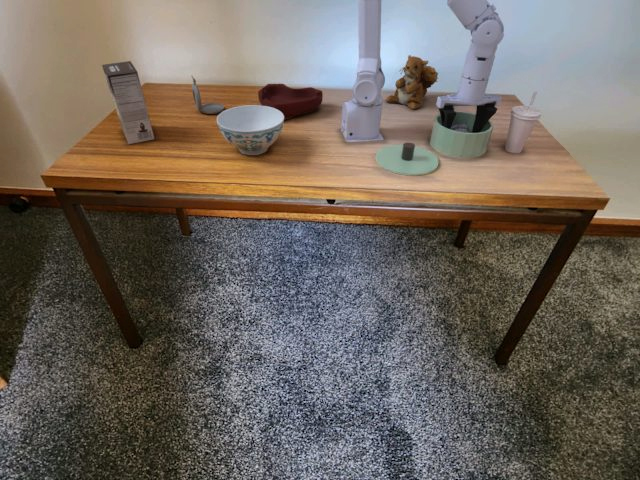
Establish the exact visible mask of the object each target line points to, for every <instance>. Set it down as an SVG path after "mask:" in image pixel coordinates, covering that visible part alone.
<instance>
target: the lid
mask: <svg viewBox="0 0 640 480" xmlns="http://www.w3.org/2000/svg"><path fill="white" fill-rule="evenodd" d="M375 161H376V163H377V165H379V166H380V167H381V168H382V169H384V170H385V171H388V172H390V173H393V174H395V175H396V174H397V175H402V176H409V177H410V176H411V177H415V176H416V177H417V176H424V175H428V174H430V173H433V172H435V171H436V170H437V169H438V167H439V162H440V161H439V158H438V156H436V154H434V153H433V152H432V151H430V150H428V149H426V148H424V147H420V146H417V145H416V144H414V143H412V142H404V143H403V144H391V145H386V146H384V147H381V148H379V149H378V151H377V152H376V154H375Z"/></svg>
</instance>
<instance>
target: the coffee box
mask: <svg viewBox="0 0 640 480" xmlns="http://www.w3.org/2000/svg"><path fill="white" fill-rule="evenodd" d="M101 67H102V70H103V74H104V76H105V79H106V83H107V87H108V90H109V93H110V96H111V100H112V102H113V106H114V108H115V111H116V115H117V118H118V120H119V124H120V127H121V129H122V132H123V134H124V137H125V139H126V142H127V144H128V145H134V144H138V143H144V142H147V141H152V140H155V139H156V138H155V134H154V131H153V126H152V123H151V119H150V116H149V112H148V108H147V104H146V99H145V96H144V92H143V88H142V83H141V79H140V76H139V72H138V70H137V69H136V67H135V66H134V64H133V63H132V61H131V60H128V61H122V62H121V61H120V62H113V63H106V64H101Z"/></svg>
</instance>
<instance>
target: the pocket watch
mask: <svg viewBox="0 0 640 480" xmlns="http://www.w3.org/2000/svg"><path fill="white" fill-rule="evenodd" d="M191 78H192V83H193V84H192V85H191V91H192V96H193V101H194V106H195V107H196V109H197V111H200V112H201V113H202V114H206V115H215V114H220V113H221V112H223V111H225V110H224V109H225V106H224V105H223V104H221V103H217V102H211V103H210V102H209V103H205V104H202V98H201V94H200V89H199V87H198V85H197V83H196V82H197V81H196V79H195V77H194V76H193V75H191Z"/></svg>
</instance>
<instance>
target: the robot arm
mask: <svg viewBox="0 0 640 480" xmlns="http://www.w3.org/2000/svg"><path fill="white" fill-rule="evenodd" d="M446 1H447V2H446V4H447V6H448V7H449V9H450V10H451V12H452V13H453V14H454V15H455V17H456V18H457V20H458V21H459V22H460V23H461V25H462V26H463V28H464V29H465V30H468V31H470V35H471V39H470V43H469V47H468V51H467V52H466V56H465V59H464V64H463V68H462V73H461V77H460V81H459V85H458V89H457V93H453V94H448V95H442V96H437V99H436V103H435V105H436V107H437V109H438V111H439V114H440V115H441V121H442V126H444V127H446V128H448V129H451V126H452V123H453V120H454V118H455V116H456V114H457V113H456V112H455V111H456V110H455V108H454V107H472V106H473V107H475V106H476V108H475V114H476V117H475V121H474V125H473V129H472V133H479V132H481V131H482V129H483V127H484V126H485V124H486V123H487V122H488V120H490V119H491V118H492V117H493V116H494V115H496V113H497V110H498V108H497V107H499V106H500V105H501V102H502V98H503V97H502V96H501V95H500V94H498V93H497V94H496V93H495V94H491V93H486V90H487V88H488V84H489V80H490V76H491V73H492V69H493V66H494V61H495V58H496V52H497V50H498V45H499V44H500V43H501V42H502V40H503V39H504V37H505V34H504V32H505V29H504V28H505V26H504V23H503V21H502V20H501V17H500V16H499V13H498V12H497V11H496V10H497V8H496V6H495V5H494V4H491V3H489V1H488V0H446ZM357 3H358V4H357V5H358V6H357V8H358V9H357V11H358V12H357V13H358V15H357V17H358V63H357V68H356V79H355V83H354V84H353V86H352V96H353V97H352V99H350V100H347V101H343V103H342V107H341V123H340V125H341V126H340V131H341V133H342V135H343V137H344V139H345V141H346V142H348V143H349V142H350V143H351V142H353V143H354V142H369V141H370V142H371V141H384V140H385V138H384V137H383V135H382V134H381V132H380V129H381V120H382V112H383V106H384V105H383V103H384V98H383V96H382V95H381V93H382V89H383V88H384V86H385V83H386V77H385V76H386V75H385V74H384V71H383V67H382V57H381V45H382V44H381V41H382V40H381V39H382V37H381V36H382V35H381V34H382V0H357Z"/></svg>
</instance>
